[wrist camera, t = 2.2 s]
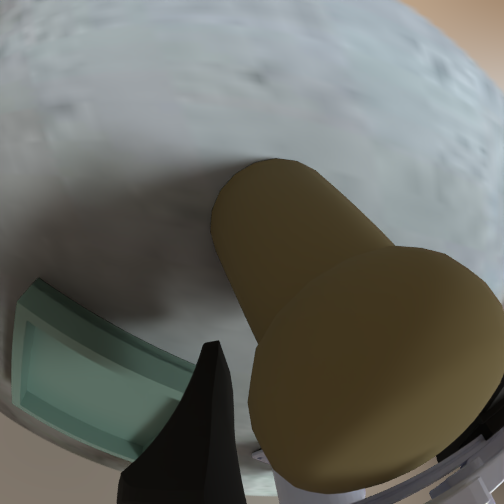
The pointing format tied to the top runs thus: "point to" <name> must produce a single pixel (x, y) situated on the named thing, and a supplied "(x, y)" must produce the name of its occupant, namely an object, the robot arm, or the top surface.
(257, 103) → the top surface
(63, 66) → the top surface
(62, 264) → the top surface
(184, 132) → the top surface
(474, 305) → the cork
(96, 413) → the tray
